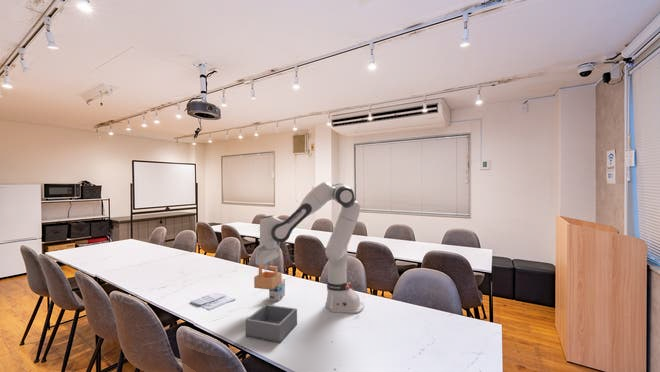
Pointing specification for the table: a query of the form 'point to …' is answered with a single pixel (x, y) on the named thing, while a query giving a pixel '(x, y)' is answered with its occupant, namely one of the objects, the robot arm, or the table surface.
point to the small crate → (268, 278)
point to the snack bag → (208, 300)
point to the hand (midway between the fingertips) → (268, 268)
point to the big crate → (271, 323)
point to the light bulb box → (277, 292)
